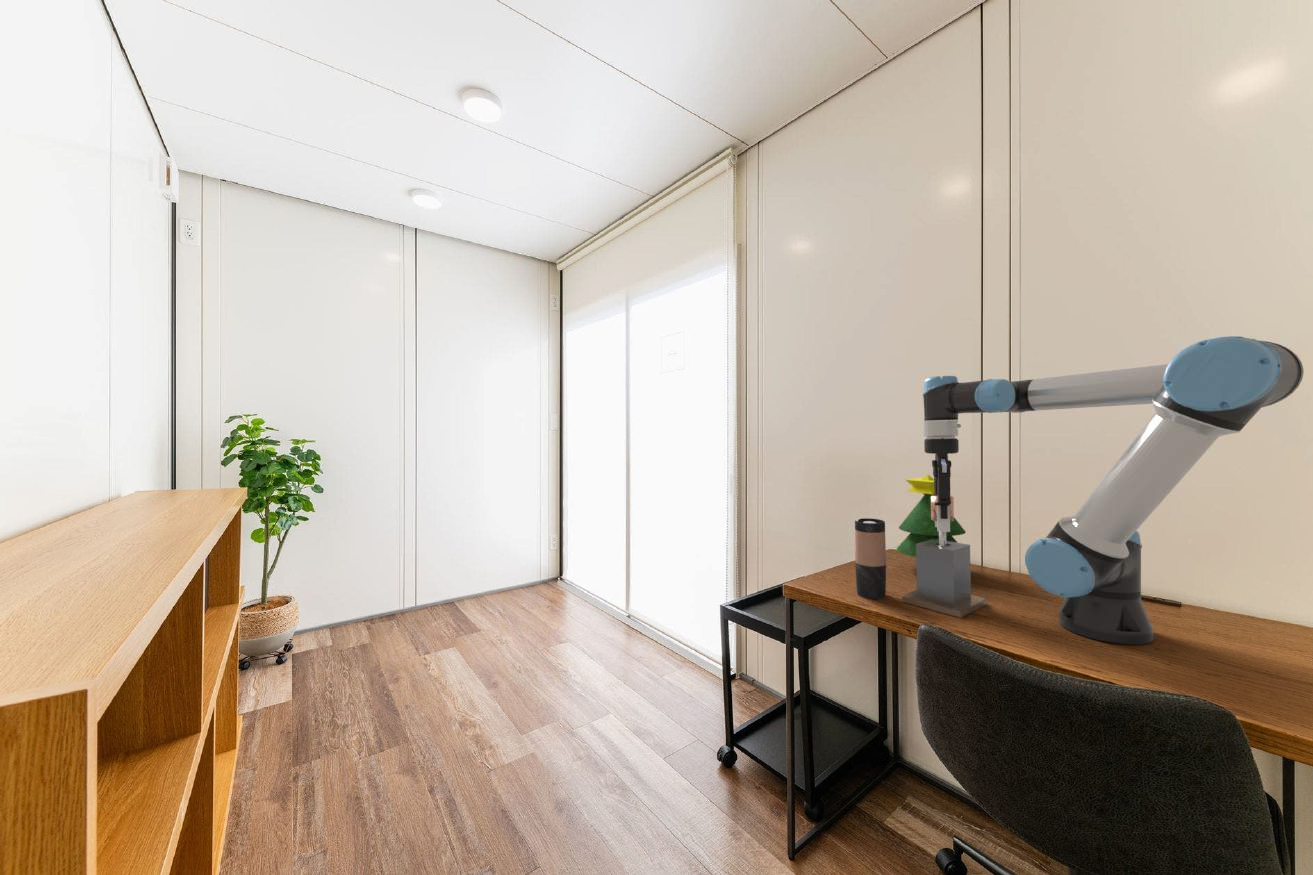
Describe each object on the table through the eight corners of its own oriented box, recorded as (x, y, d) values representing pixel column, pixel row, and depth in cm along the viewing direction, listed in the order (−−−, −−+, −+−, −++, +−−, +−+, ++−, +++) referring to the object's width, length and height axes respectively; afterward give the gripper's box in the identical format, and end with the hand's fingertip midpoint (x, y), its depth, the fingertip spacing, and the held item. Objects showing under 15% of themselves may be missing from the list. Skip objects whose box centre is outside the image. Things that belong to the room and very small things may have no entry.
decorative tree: (942, 585, 139) (940, 479, 139) (883, 568, 156) (881, 474, 156) (982, 574, 148) (980, 474, 147) (922, 559, 165) (921, 470, 165)
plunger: (958, 579, 125) (957, 496, 124) (949, 583, 122) (947, 498, 122) (937, 574, 129) (936, 494, 129) (928, 578, 126) (926, 496, 126)
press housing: (986, 604, 124) (985, 544, 124) (960, 617, 116) (959, 554, 116) (929, 590, 135) (928, 535, 135) (902, 601, 127) (901, 543, 127)
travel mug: (891, 599, 129) (890, 523, 129) (862, 599, 130) (861, 523, 129) (879, 589, 137) (877, 517, 137) (851, 590, 137) (850, 518, 137)
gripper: (963, 438, 115) (965, 537, 115) (953, 436, 131) (955, 523, 132) (927, 439, 118) (928, 535, 119) (921, 436, 135) (923, 521, 135)
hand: (942, 528), depth 125 cm, fingers closed on plunger, 5 cm apart
